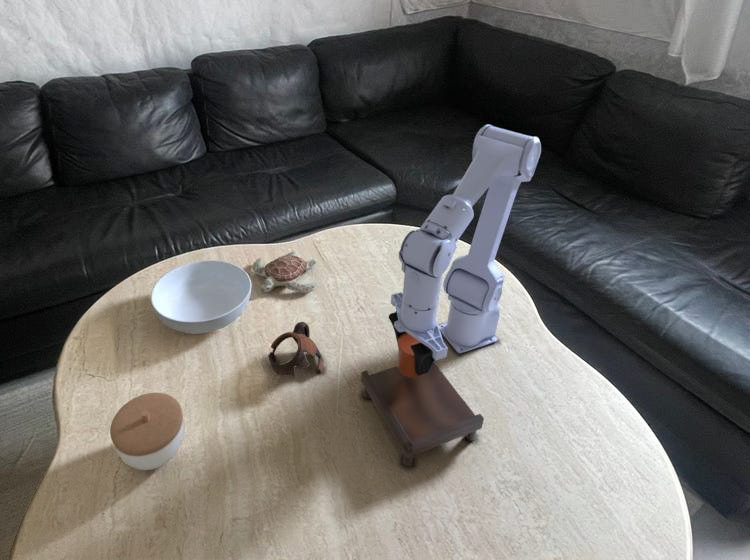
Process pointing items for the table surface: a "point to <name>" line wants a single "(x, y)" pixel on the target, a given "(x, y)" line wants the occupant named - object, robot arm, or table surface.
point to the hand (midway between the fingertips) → (412, 359)
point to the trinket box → (148, 430)
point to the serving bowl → (201, 296)
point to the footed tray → (420, 409)
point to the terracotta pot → (407, 356)
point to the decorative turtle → (285, 273)
